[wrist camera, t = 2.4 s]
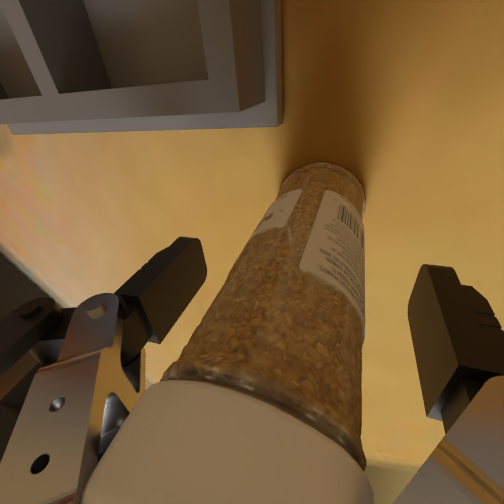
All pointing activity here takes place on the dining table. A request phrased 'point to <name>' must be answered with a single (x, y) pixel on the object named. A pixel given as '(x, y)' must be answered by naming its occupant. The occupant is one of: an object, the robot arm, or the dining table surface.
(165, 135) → the dining table surface
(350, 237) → the sprinkles bottle
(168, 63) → the caddy
